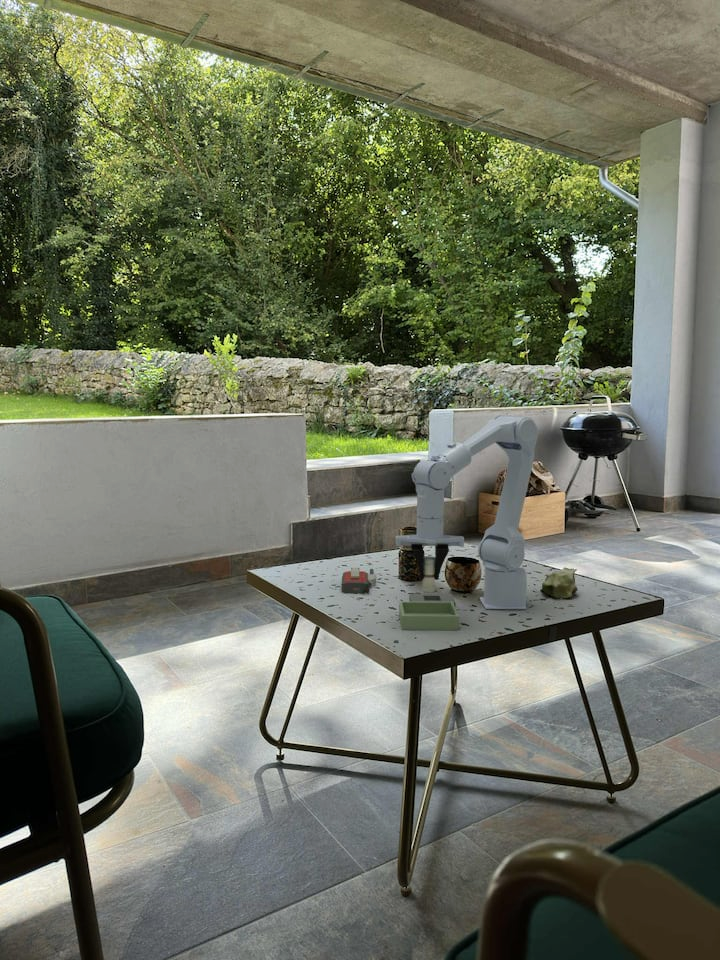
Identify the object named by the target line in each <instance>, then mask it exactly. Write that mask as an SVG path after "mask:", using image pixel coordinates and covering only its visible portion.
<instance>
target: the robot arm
mask: <svg viewBox="0 0 720 960" xmlns="http://www.w3.org/2000/svg"><path fill="white" fill-rule="evenodd" d="M539 433H540V430H539V428H538V426H537V424H536V423H535V421H534V420H533V418H531V417H530V416H508V415H507V416H506V415H500V414H498V415H495V416H494V417H492V418H491V419H489V420H487V422H486V425H484V426H483V427H482V428H481V429H479V430H478V431H477V432H475V433H474V434H473V435H472V436H470V437H469V438H468V439H467V440H465V441H464V442H463V443H461V442H458V441H457V442H450V443H448V444H447V445H446V446H447V447H446V448H444V449H443V450H441V451H440V452H439V453H434V454H432V456H431V458H429V460H428V459H423V460H420V461H419V462H418V463H417V464H416V465H415V466H414V469H413V472H412V473H411V480H412V482H413V483H414V485H415V492H416V494H417V495H416V503H417V504H416V534H406V535H405V534H404V535H395V547H402V546H410V548H411V551H412V553H413V556H414V558H415V560H416V561H415V562H416V564H417V569H418V576H419V580H421V581H423V576H424V575H423V557H424V553H425V551H424V547H425V546H426V547H427V546H428V547H429V546H430V547H432V546H433V547H434V550H435V551H434V555H435V556H434V557H435V558H436V563H435V581H438V580H439V577H440V574H441V570H442V567H443V564H444V562H445V560H446V558H447V556H448V554H449V552H450V548H449V547H458V548H459V547H460V548H464V547H465V537H464V536H462V535H449V534H448V535H447V534H444V522H445V521H444V519H445V517H444V515H445V512H444V511H445V488H447V487H449V484H450V482H451V480H452V478H453V477H454V476H455V475H456V474H458V473H459V472H460V471H462V470H463V469H465V468H466V467H468V466H469V465H470V464H471V462H472V458H473V456H475V455H476V454H478V453H480V452H482V451H483V450H485V449H487V448H488V447H490V446H492V445H493V444H496V445H497V446H498V447H499V448H501V450H502V451H503V452H505V453H506V456H507V457H508V464H507V469H506V472H505V477H504V482H503V484H502V485H503V487H502V489H501V495H500V498H499V502H498V507H497V512H496V515H495V521H494V524H493V525H491V526H490V527H487V529H486V530H484V535H483V538H482V539H481V541H480V542H479V544H478V549H477V553H478V558H480V560H481V561H482V566H484V586H483V587H484V588H483V590H484V591H483V596H480V597H479V600H480V603H481V604H482V605H483V607H484V609H486V610H527V587H528V586H527V584H528V582H527V581H528V580H527V578H528V577H527V573H526V570H525V568H524V567H521V566H522V564H523V562H524V560H525V554H526V553H525V544H526V538H525V537H524V536H523V534H522V533H521V532H520V531H519V527H520V521H521V517H522V513H523V508H524V504H525V500H526V495H527V491H528V487H529V483H530V477H531V473H532V470H533V465H534V460H535V453H536V452H535V451H536V450H535V449H536V445H537V441H538V436H539ZM502 538H503V539H502ZM505 539H506V540H505ZM423 546H424V547H423Z"/></svg>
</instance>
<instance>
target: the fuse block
mask: <svg viewBox="0 0 720 960" xmlns="http://www.w3.org/2000/svg"><path fill="white" fill-rule="evenodd" d="M408 595H409V596H408V598H409V599H408V602H453V603H454V605H455V608H456V605H457V603H456V601H455V598H454V596H453V593H409V594H408ZM456 609H457V608H456Z"/></svg>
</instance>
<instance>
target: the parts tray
mask: <svg viewBox="0 0 720 960" xmlns="http://www.w3.org/2000/svg"><path fill="white" fill-rule="evenodd" d="M398 616H399V620H400V621H399V622H400V627H401V630H402V631H421V630H422V631H459V630H460V615H459V612H458V611H457V608H455V605H454V603H453V602H409V601H398Z"/></svg>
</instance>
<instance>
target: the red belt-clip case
mask: <svg viewBox="0 0 720 960" xmlns="http://www.w3.org/2000/svg"><path fill="white" fill-rule="evenodd" d="M376 582H377V575H376V573H375V572H374V568H370V569H369V573H368V572H366V571H360V567H351V569H350V571H349V570H348V571H344V572H343V573H342V577H341V593H342V592H343V593H342V594H353V595H354V594H359V595H360V594H361V595H363V594H368V593H369V592H370V589H371V588H373V587H376Z"/></svg>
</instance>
